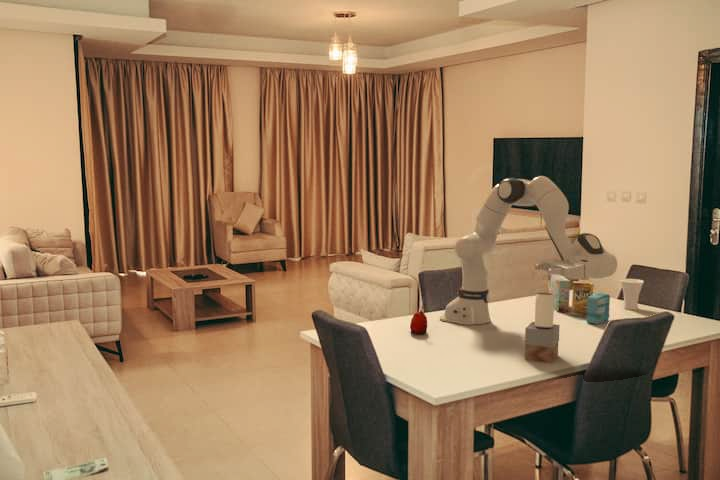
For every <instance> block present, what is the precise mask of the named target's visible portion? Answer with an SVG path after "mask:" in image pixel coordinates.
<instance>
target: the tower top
mask: <svg viewBox="0 0 720 480" xmlns="http://www.w3.org/2000/svg"><path fill="white" fill-rule="evenodd" d="M524 334H525V335H524V336H525V337H524V340H525V341H524V345H525V344H527V345H535V346H543V347H551V348H553V347H554V346H555V345H556V344H557V343H558V344H559V342H560V324H554V323H553V327H551V328H542V327H536V326H535V321H531V322H530V323H529V324H528V325H527V326H526V327H525V333H524Z"/></svg>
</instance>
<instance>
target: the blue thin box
mask: <svg viewBox="0 0 720 480" xmlns="http://www.w3.org/2000/svg"><path fill="white" fill-rule="evenodd" d="M610 296H611V295H609V294H607V293H603V292H602V293H601V292H599V293H594V294H593V295H591V296H589V297H588V299H587V316H586V323H587V324H592V325H596V324H597V325H600V324H602V322H603V323H605V321H606V322H608V320H610V319H609V318H610V303H611V302H610V301H611V300H610V299H611V298H610Z"/></svg>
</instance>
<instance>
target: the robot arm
mask: <svg viewBox="0 0 720 480" xmlns="http://www.w3.org/2000/svg"><path fill="white" fill-rule="evenodd" d="M569 205H570V204H569V201H568V199H567V196H565V194H564V193H563V192H562V190H561V189H560V188H559V187H558V185H556V184H555V182H553V181H552V180H551V178H549V177H548V176H544V175H537V177H534V178H533V179H532V180H529V179H526V178H525V179H524V178H516V177H515V178H514V177H509V178H505V179H503V180H502V181H500V183H497V184H496V185H494V187H492V189H491V191H490V192H489V193H488V195H487V196H486V198H485V200H484V202H483V203H482V206H481V208H480V209H479V211H478V214H477V215H476V218H475V221H476V222H475V223H476V224H475V227H474V230H473V232H471V234H467V235H463V236H462V237H461V238H459V239H458V240H457V241H456V243H455V244H454V253H455V255H456V256H457V257H458V259H459V261H460V266H461V271H462V273H461V274H462V286H461V287H460V288H459V289H458V290H457V297H456V298H455V299H453V300H451V301H450V302H449V303H448V304H446V306H445V309H444V313H442V314H441V315H440V316H439V321H442V322H448V323H454V324H459V325H460V324H461V325H467V326H472V325H473V326H474V325H484V324H488V323H490V322H491V321H492V319H491V315H490V312H489V311H490V310H489V301H490V295H489V294H490V293H489V292H490V291H489V289H488V285H489V272H488V270H487V269H486V266H485V263H484V262H485V261H484V257H487V256H489V255H490V254H492V253H493V252H494V250H495V249H496V247H497V237H498V234H499V231H500V228H501V226H502V224H503V223H504V221H505V219H506V217H507V215H508V213H509V212H510V209H511V208H512V206H518V207H530V208H531V207H532V208H533V207H537V209H538V210H539V212H540V214H541V216H542V219H543V221H544V225H545V229H546V232H547V234H548V236H549V238H550V240H551V242H552V243H553V245H554V246H553V247H555V249H556V251H557V253H558V255H559V257H560V259H552V258H551V259H548V258H547V259H541V260H540V263H537V264H534V268H533V269H534V270H536V271H540V270H542V271H546V272H547V274H557V275H561V276H563V277H565V278H566V279H569V280H573V281H578V280H582V281H589V280H590V279H600V278H601V279H602V278H607V277H608V278H609V277H611V276H613V275H614V274H615V273H616V271H617V268H618V260H617V257H616V256H615V255H614V254H613V253H610V252H608V251H607V250H606V249H605V247H604V246H602V242H601V241H600V239H599V237H598V236H597V235H595V234H592V233H589V232H588V233H587V232H584V233H580V234H578V235H577V236H576V238H575V240H574V241H573V243H572V242H571V241H570V239H569V237H568V235H567V232H566V225H567V224H566V223H567V218H568V214H569V209H570V206H569Z"/></svg>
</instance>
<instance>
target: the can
mask: <svg viewBox="0 0 720 480" xmlns="http://www.w3.org/2000/svg"><path fill="white" fill-rule="evenodd" d="M534 309H535V310H534V322H535V326H536V327H542V328H551V327H553V324H554V313H555V312H554V310H555V309H554V297H553V294H552V293H548V292H537V294H536V297H535V307H534Z"/></svg>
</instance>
